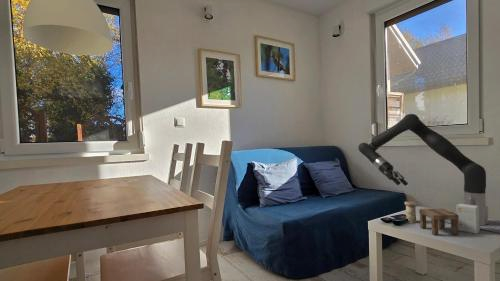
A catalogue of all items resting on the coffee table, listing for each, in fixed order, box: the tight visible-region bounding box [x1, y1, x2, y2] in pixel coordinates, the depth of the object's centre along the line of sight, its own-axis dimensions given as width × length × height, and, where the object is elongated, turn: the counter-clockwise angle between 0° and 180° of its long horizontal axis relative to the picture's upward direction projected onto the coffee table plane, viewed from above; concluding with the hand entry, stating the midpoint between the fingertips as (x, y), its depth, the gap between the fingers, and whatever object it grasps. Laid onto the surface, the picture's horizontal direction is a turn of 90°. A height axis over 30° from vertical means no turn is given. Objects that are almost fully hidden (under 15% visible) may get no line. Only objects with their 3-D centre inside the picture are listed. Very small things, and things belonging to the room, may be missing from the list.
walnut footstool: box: [418, 208, 459, 236], centre depth 138 cm, size 12×12×10 cm
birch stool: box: [404, 201, 418, 224], centre depth 154 cm, size 6×6×11 cm
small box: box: [455, 203, 480, 234], centre depth 137 cm, size 8×6×13 cm
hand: (403, 184), depth 155 cm, fingers open, 8 cm apart
